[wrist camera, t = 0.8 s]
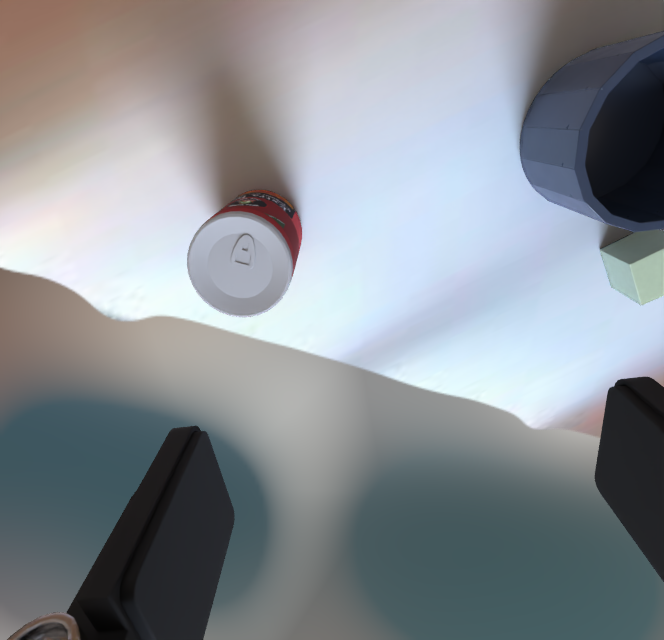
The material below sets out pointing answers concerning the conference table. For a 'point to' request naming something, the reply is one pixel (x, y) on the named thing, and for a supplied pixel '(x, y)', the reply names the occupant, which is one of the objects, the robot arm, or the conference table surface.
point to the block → (637, 265)
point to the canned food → (246, 254)
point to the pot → (602, 135)
